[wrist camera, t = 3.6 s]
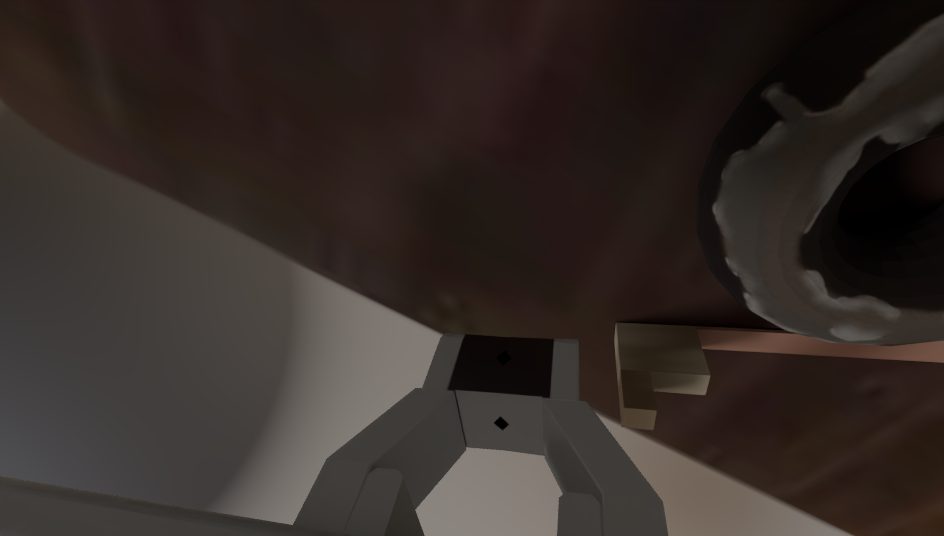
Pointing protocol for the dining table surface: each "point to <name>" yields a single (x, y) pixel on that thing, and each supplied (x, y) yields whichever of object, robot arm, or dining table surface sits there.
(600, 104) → the dining table surface
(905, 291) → the donut
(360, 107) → the dining table surface
